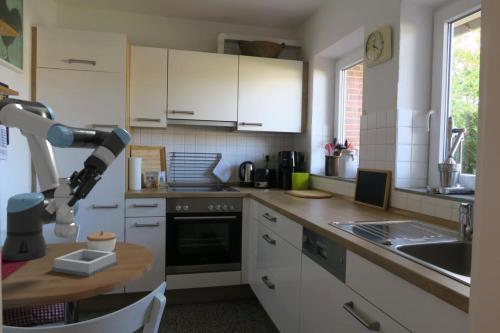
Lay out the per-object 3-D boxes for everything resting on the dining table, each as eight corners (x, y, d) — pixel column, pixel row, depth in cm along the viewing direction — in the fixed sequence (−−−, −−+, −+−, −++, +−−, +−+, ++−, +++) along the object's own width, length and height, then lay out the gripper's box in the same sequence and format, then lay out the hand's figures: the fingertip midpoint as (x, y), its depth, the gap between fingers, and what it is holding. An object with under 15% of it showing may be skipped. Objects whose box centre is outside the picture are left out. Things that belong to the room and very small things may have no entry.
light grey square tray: (51, 270, 119) (51, 259, 119) (83, 258, 133) (83, 248, 133) (89, 276, 115) (89, 264, 115) (117, 263, 129) (117, 252, 129)
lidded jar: (95, 260, 132) (96, 235, 132) (81, 254, 138) (81, 230, 138) (121, 254, 140) (121, 231, 140) (106, 249, 147) (107, 227, 147)
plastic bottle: (73, 234, 123) (72, 176, 122) (78, 237, 118) (77, 178, 117) (52, 237, 118) (51, 177, 117) (57, 240, 113) (56, 179, 112)
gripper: (122, 169, 125) (79, 223, 112) (89, 167, 135) (46, 216, 122) (109, 154, 120) (63, 208, 107) (76, 153, 130) (30, 202, 117)
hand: (54, 212), depth 114 cm, fingers closed on plastic bottle, 6 cm apart
